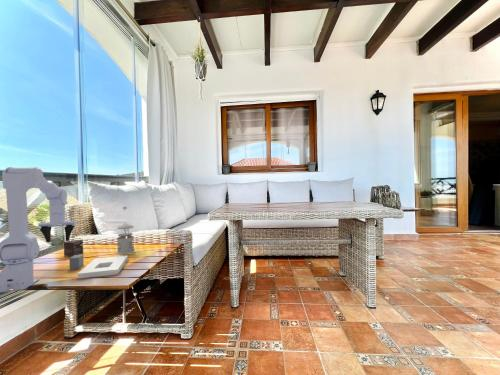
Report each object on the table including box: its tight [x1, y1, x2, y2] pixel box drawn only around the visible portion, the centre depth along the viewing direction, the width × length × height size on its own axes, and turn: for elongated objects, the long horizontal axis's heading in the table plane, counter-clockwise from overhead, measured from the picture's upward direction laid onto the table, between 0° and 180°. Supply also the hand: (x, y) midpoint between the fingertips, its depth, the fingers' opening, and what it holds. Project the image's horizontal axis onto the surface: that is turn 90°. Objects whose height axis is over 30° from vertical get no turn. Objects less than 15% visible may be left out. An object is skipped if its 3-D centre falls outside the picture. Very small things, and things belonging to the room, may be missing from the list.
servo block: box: [68, 253, 85, 270], centre depth 105 cm, size 5×4×5 cm
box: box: [63, 239, 84, 257], centre depth 125 cm, size 6×6×7 cm
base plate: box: [77, 255, 129, 280], centre depth 103 cm, size 20×14×2 cm
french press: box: [115, 206, 136, 256], centre depth 129 cm, size 10×12×25 cm
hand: (58, 241), depth 113 cm, fingers open, 7 cm apart
